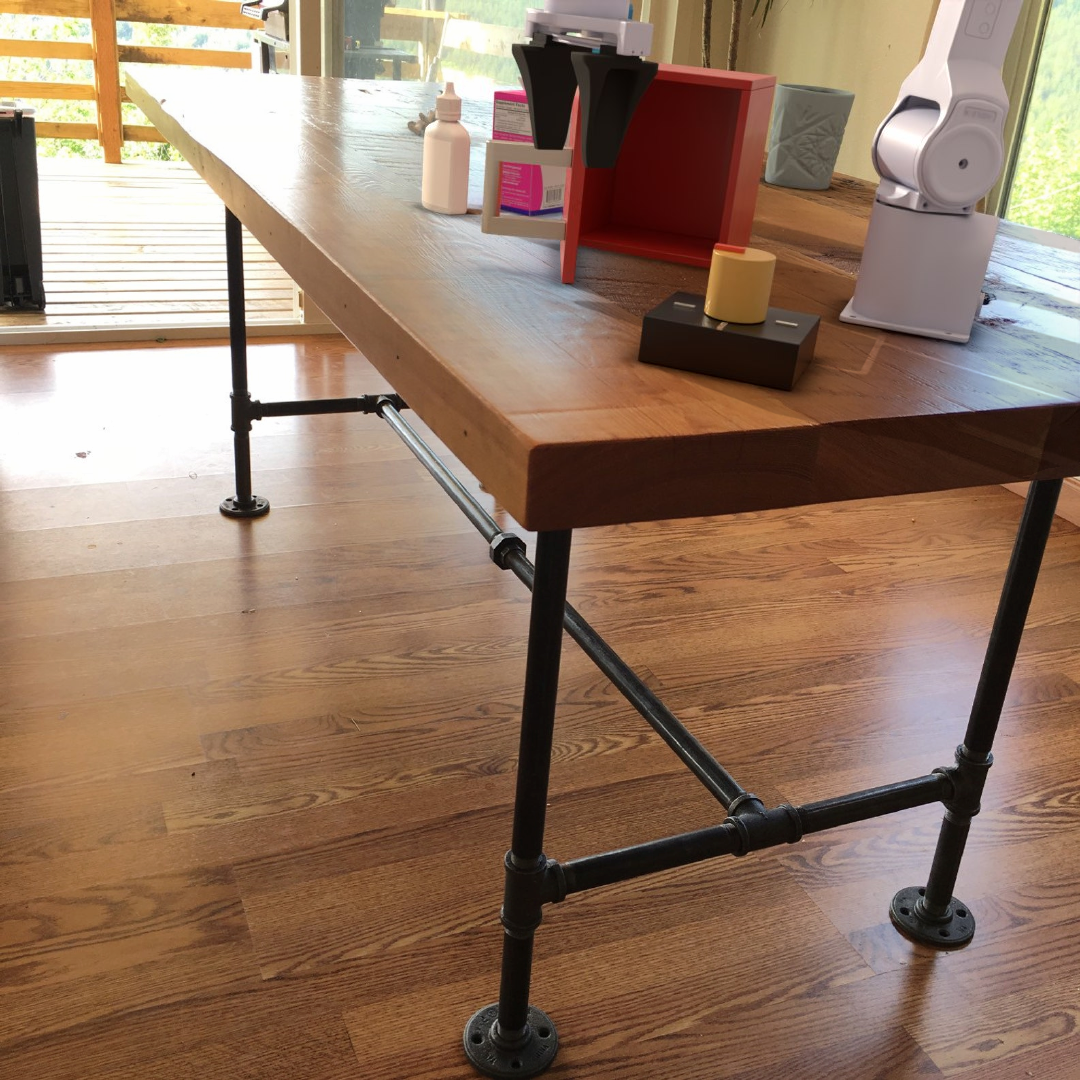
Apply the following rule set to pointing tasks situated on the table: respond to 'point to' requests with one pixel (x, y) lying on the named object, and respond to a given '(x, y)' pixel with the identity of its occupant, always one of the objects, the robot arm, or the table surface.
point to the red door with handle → (536, 226)
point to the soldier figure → (423, 121)
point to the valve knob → (739, 284)
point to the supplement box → (525, 183)
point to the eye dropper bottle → (446, 158)
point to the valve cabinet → (683, 168)
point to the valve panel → (729, 342)
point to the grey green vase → (806, 135)
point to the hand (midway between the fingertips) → (572, 158)
